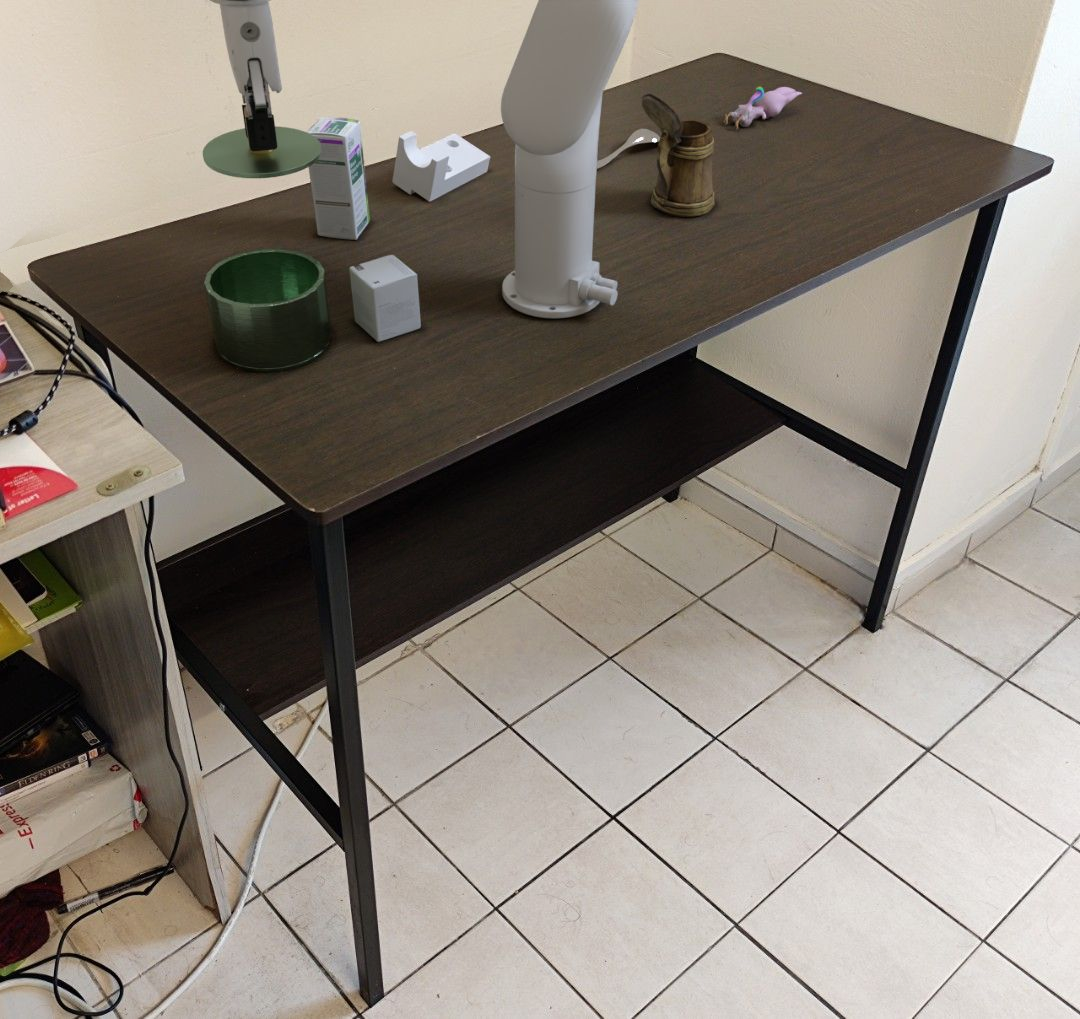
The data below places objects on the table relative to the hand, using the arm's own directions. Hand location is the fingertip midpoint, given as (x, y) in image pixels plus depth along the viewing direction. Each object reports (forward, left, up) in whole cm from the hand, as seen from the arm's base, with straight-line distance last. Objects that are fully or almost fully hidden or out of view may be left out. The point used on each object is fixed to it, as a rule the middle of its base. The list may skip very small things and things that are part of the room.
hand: (261, 141), depth 142 cm
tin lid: (0, 0, -2) cm, 2 cm away
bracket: (-3, -33, -17) cm, 37 cm away
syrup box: (0, -13, -17) cm, 21 cm away
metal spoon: (-20, -53, -17) cm, 59 cm away
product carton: (-20, +4, -17) cm, 27 cm away
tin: (-11, +14, -17) cm, 25 cm away
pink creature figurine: (-33, -81, -17) cm, 89 cm away
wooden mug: (-35, -43, -17) cm, 58 cm away
